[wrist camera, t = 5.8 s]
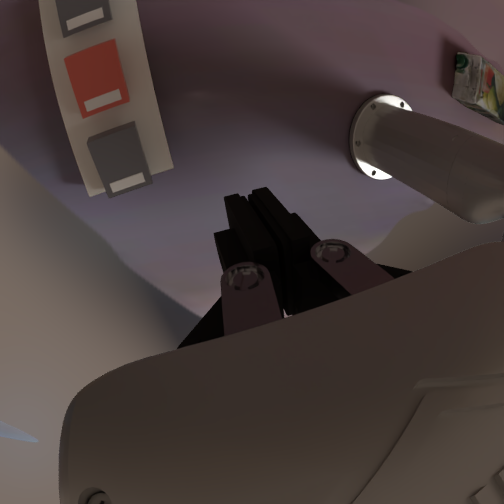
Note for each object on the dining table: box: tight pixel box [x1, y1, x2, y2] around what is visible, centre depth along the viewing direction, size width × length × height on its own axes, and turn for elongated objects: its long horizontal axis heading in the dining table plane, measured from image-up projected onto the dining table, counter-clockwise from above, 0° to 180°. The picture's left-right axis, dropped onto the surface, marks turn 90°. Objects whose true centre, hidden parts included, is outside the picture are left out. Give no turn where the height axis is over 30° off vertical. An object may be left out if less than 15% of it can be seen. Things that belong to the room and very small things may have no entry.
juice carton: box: [452, 52, 504, 125], centre depth 36 cm, size 20×10×6 cm, turn 85°
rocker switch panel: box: [39, 0, 174, 197], centre depth 22 cm, size 9×22×4 cm, turn 10°
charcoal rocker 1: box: [55, 0, 113, 38], centre depth 15 cm, size 4×6×2 cm
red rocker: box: [64, 38, 130, 119], centre depth 20 cm, size 4×6×2 cm
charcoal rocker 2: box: [87, 121, 153, 198], centre depth 24 cm, size 4×6×2 cm
